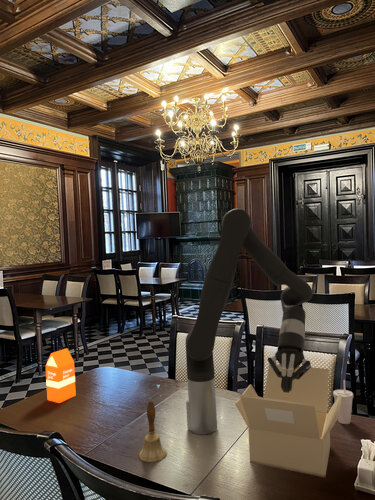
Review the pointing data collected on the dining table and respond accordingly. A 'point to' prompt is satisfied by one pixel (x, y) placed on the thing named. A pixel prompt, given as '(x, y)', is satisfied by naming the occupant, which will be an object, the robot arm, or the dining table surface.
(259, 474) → the dining table surface
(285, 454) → the carton
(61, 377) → the orange juice
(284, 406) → the front flap
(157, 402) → the dining table surface
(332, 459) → the dining table surface
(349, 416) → the smoothie
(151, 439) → the hand bell
